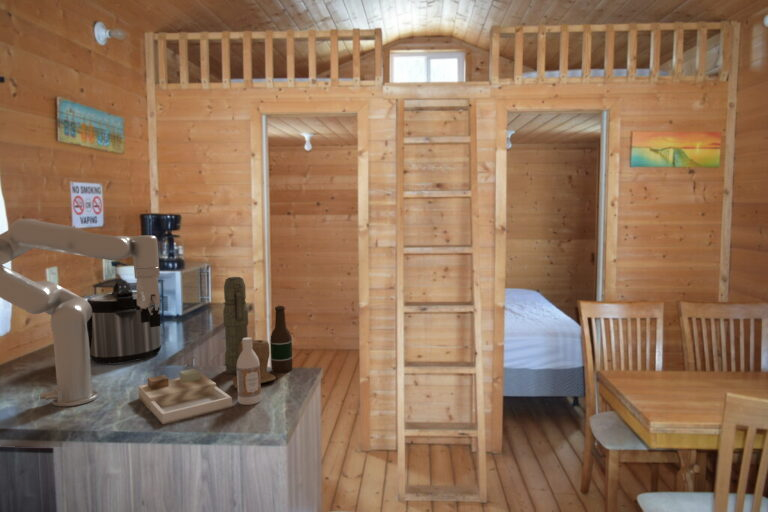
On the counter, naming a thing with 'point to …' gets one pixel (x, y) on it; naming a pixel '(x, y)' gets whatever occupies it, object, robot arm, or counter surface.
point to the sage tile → (189, 375)
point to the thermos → (234, 320)
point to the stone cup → (263, 355)
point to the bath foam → (248, 375)
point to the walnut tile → (158, 382)
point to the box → (192, 407)
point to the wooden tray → (177, 391)
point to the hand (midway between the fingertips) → (150, 324)
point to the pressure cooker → (120, 328)
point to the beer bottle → (281, 344)
